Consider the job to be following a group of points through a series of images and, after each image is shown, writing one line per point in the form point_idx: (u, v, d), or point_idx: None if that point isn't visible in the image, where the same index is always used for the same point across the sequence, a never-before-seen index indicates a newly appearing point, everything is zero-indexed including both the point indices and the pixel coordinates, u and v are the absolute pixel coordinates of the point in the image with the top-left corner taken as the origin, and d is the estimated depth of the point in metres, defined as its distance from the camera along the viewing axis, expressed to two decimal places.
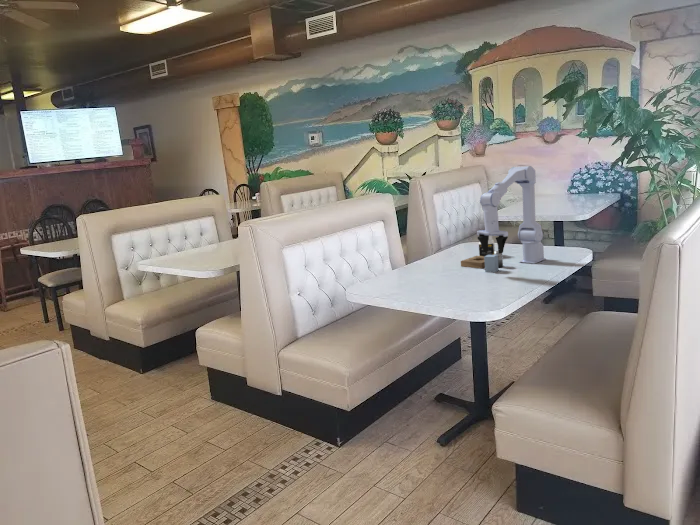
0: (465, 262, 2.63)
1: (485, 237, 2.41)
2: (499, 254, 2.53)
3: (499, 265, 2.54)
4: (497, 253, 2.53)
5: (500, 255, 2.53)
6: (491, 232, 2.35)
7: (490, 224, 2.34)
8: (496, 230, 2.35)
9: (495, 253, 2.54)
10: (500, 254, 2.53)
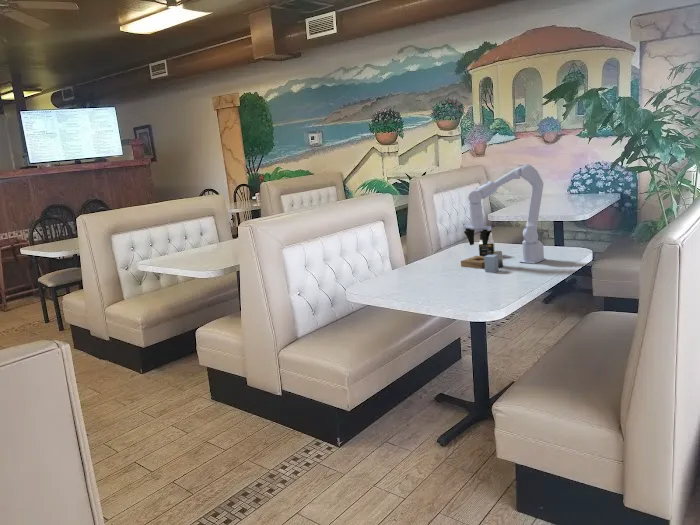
0: (465, 262, 2.63)
1: (471, 231, 2.64)
2: (499, 254, 2.53)
3: (499, 265, 2.54)
4: (497, 253, 2.53)
5: (500, 255, 2.53)
6: (476, 226, 2.58)
7: (475, 219, 2.57)
8: (481, 225, 2.58)
9: (495, 253, 2.54)
10: (500, 254, 2.53)
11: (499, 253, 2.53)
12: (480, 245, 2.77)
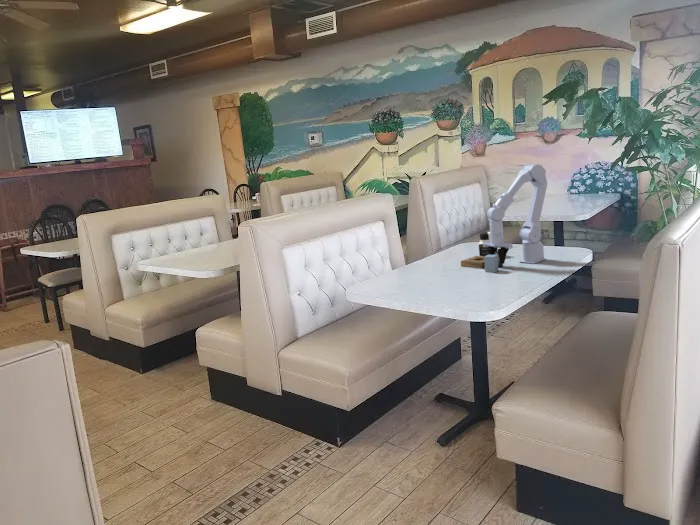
0: (465, 262, 2.63)
1: (494, 249, 2.56)
2: None
3: (499, 265, 2.54)
4: (497, 253, 2.53)
5: None
6: (496, 244, 2.51)
7: (496, 237, 2.51)
8: (501, 242, 2.51)
9: (495, 253, 2.54)
10: None
11: None
12: (480, 245, 2.77)
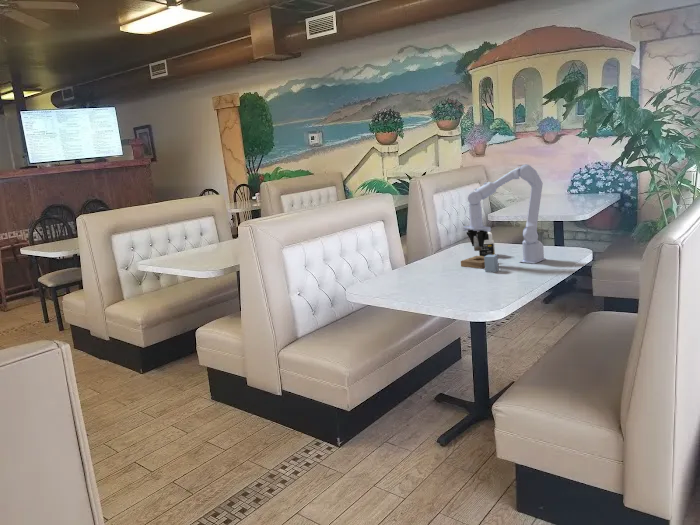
0: (465, 262, 2.63)
1: (473, 232, 2.63)
2: None
3: (478, 248, 2.61)
4: (476, 237, 2.60)
5: None
6: (475, 227, 2.58)
7: (474, 220, 2.58)
8: (480, 226, 2.58)
9: (474, 237, 2.61)
10: None
11: None
12: None
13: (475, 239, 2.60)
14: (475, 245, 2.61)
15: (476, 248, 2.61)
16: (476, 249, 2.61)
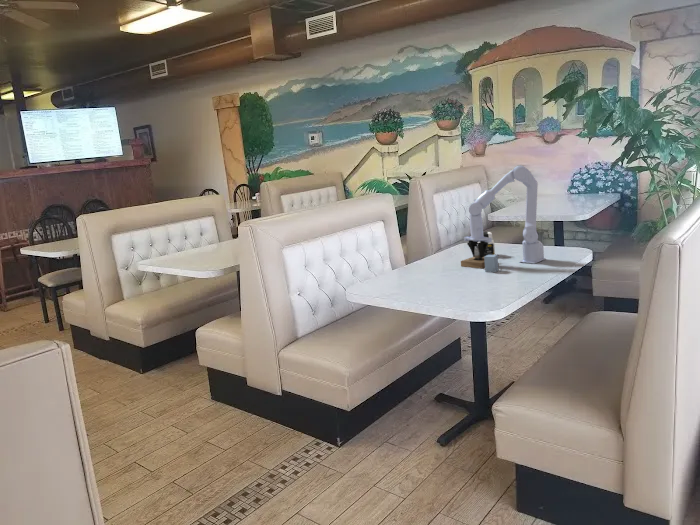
0: (465, 262, 2.63)
1: (474, 243, 2.64)
2: None
3: (479, 259, 2.62)
4: (477, 247, 2.61)
5: None
6: (476, 238, 2.59)
7: (475, 231, 2.59)
8: (481, 236, 2.59)
9: (475, 247, 2.62)
10: None
11: None
12: None
13: (476, 250, 2.61)
14: (476, 256, 2.62)
15: (477, 259, 2.62)
16: (477, 260, 2.62)
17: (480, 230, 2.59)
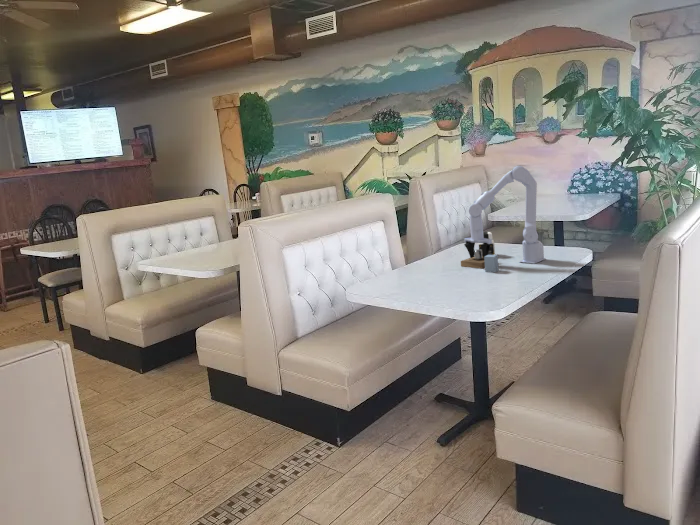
0: (465, 262, 2.63)
1: (471, 244, 2.65)
2: (479, 252, 2.61)
3: None
4: (477, 251, 2.61)
5: (480, 253, 2.62)
6: (476, 240, 2.59)
7: (475, 232, 2.59)
8: (481, 238, 2.59)
9: (475, 251, 2.62)
10: (480, 252, 2.62)
11: (479, 251, 2.61)
12: (480, 245, 2.77)
13: (476, 254, 2.62)
14: (476, 260, 2.63)
15: None
16: None
17: (480, 231, 2.59)
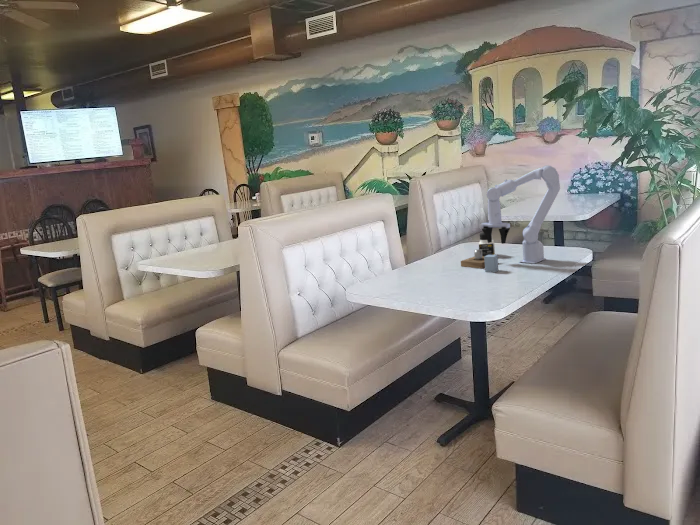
0: (465, 262, 2.63)
1: (489, 229, 2.62)
2: (479, 252, 2.61)
3: None
4: (477, 251, 2.61)
5: (480, 253, 2.62)
6: (494, 224, 2.56)
7: (493, 217, 2.55)
8: (499, 222, 2.56)
9: (475, 251, 2.62)
10: (480, 252, 2.62)
11: (479, 251, 2.61)
12: (480, 245, 2.77)
13: (476, 254, 2.62)
14: (476, 260, 2.63)
15: None
16: None
17: (498, 216, 2.55)
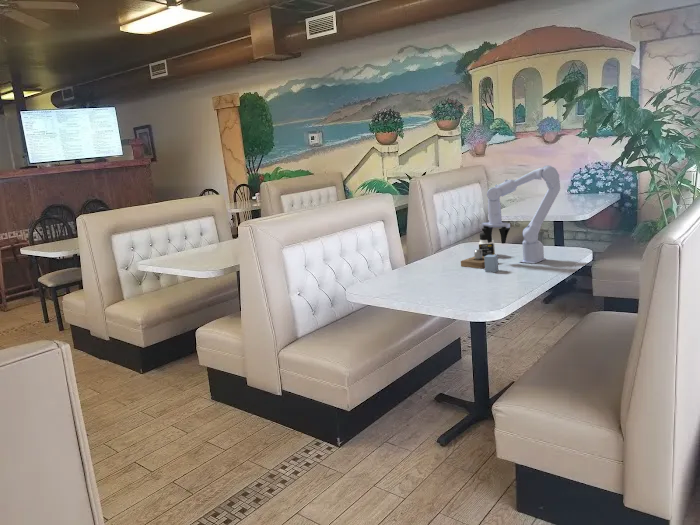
0: (465, 262, 2.63)
1: (489, 229, 2.62)
2: (479, 252, 2.61)
3: None
4: (477, 251, 2.61)
5: (480, 253, 2.62)
6: (495, 224, 2.55)
7: (494, 216, 2.55)
8: (499, 222, 2.56)
9: (475, 251, 2.62)
10: (480, 252, 2.62)
11: (479, 251, 2.61)
12: (480, 245, 2.77)
13: (476, 254, 2.62)
14: (476, 260, 2.63)
15: None
16: None
17: (498, 215, 2.55)
